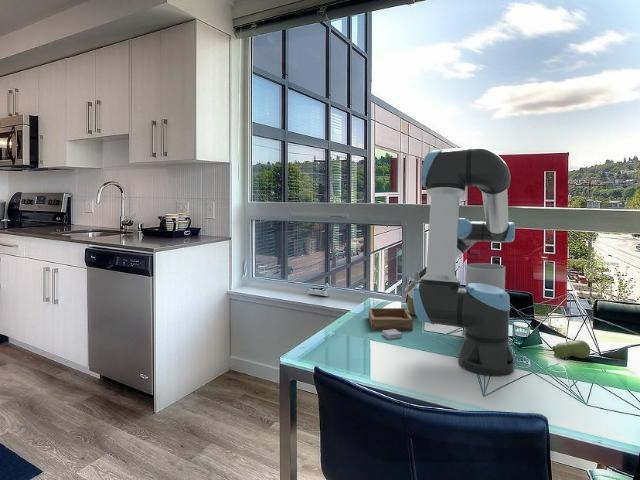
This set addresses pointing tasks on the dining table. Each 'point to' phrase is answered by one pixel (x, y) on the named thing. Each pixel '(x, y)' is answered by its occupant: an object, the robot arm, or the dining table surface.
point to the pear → (572, 349)
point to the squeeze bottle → (413, 283)
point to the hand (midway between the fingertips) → (408, 294)
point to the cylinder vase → (486, 274)
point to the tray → (390, 319)
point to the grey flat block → (391, 334)
